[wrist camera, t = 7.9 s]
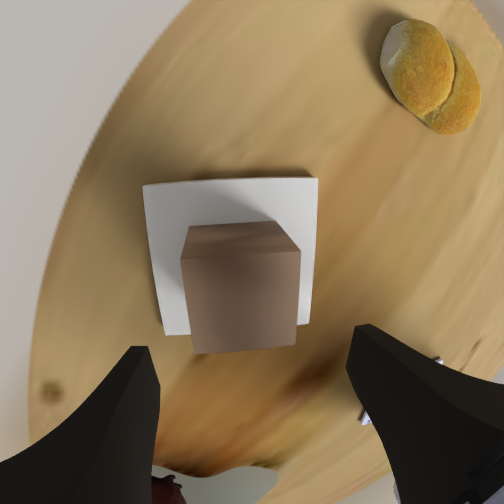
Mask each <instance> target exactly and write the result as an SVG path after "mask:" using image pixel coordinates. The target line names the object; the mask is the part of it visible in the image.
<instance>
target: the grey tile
mask: <svg viewBox="0 0 504 504" xmlns="http://www.w3.org/2000/svg"><path fill="white" fill-rule="evenodd" d="M142 187H143V198H144V208H145V217H146V225H147V233H148V241H149V248H150V255H151V261H152V268H153V274H154V280H155V286H156V291H157V296H158V302H159V307H160V312H161V317H162V321H163V326H164V331H165V335H189V334H191V330H190V324H189V318H188V312H187V306H186V299H185V292H184V285H183V278H182V270H181V262H180V258H181V254H182V250H183V247H184V243H185V239H186V235H187V232H188V228H189V226H199V225H213V224H229V223H245V222H263V221H277V223H278V224H279V225H280V226H281V227H282V229H283V230H284V231H285V232H286V233H287V234H288V236H289V237H290V238H291V239H292V240H293V242H294V243H295V244H296V245H297V246H298V248H299V249H300V250H301V268H300V287H299V303H298V318H297V325H302V324H309V317H310V307H311V296H312V284H313V272H314V258H315V242H316V224H317V200H318V178H316V177H247V178H223V179H205V180H191V181H178V182H166V183H155V184H146V185H144V186H142Z"/></svg>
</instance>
